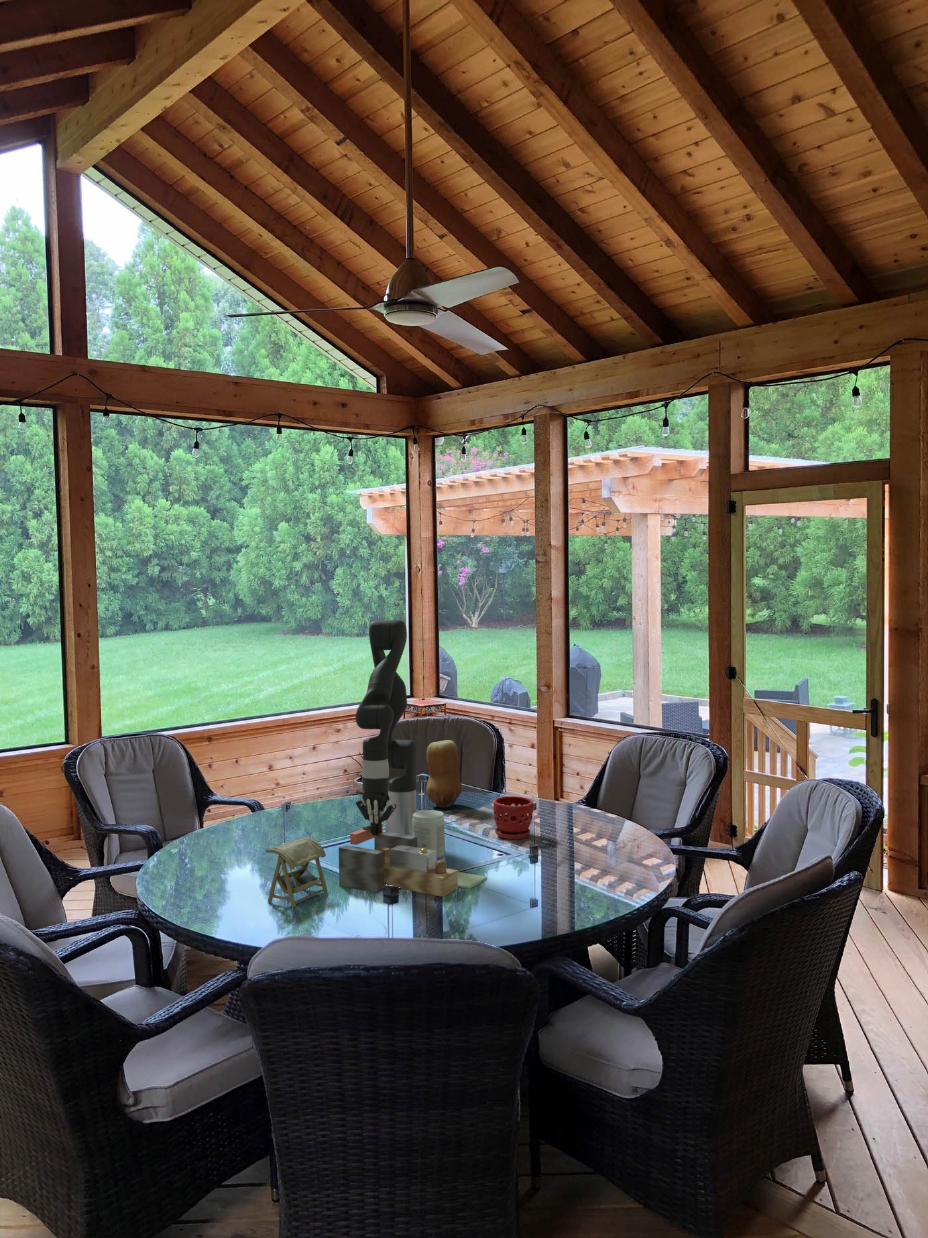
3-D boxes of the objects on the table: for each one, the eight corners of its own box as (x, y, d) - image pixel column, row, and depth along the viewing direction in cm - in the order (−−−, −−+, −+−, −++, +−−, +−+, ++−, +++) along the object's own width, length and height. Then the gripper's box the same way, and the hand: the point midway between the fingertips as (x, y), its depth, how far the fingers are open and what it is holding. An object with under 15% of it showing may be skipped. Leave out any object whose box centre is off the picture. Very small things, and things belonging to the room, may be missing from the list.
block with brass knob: (390, 867, 266) (389, 846, 266) (400, 862, 270) (399, 842, 270) (426, 873, 260) (426, 852, 260) (436, 868, 264) (436, 847, 264)
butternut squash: (425, 803, 363) (424, 737, 362) (460, 802, 365) (460, 737, 364) (428, 812, 350) (427, 744, 349) (464, 811, 351) (464, 743, 350)
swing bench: (294, 908, 248) (293, 852, 247) (265, 903, 252) (264, 847, 252) (328, 892, 261) (328, 838, 260) (300, 887, 265) (299, 834, 265)
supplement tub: (437, 856, 294) (436, 808, 293) (450, 864, 286) (450, 815, 285) (408, 860, 290) (407, 812, 289) (420, 868, 281) (420, 818, 281)
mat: (438, 883, 267) (438, 881, 267) (456, 873, 276) (456, 871, 276) (469, 888, 262) (469, 886, 262) (486, 878, 271) (486, 876, 271)
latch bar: (349, 844, 268) (349, 830, 268) (376, 833, 279) (376, 820, 279) (356, 845, 267) (356, 831, 266) (383, 834, 278) (383, 821, 278)
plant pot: (487, 839, 312) (487, 803, 312) (501, 829, 325) (501, 794, 324) (526, 843, 308) (525, 806, 307) (538, 833, 320) (538, 797, 319)
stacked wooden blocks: (339, 885, 266) (338, 847, 265) (380, 867, 283) (380, 831, 283) (430, 903, 251) (430, 862, 250) (468, 882, 268) (468, 844, 268)
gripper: (348, 775, 271) (349, 835, 271) (387, 779, 264) (388, 841, 265) (364, 770, 277) (365, 829, 278) (402, 774, 271) (403, 835, 271)
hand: (376, 835), depth 271 cm, fingers closed
